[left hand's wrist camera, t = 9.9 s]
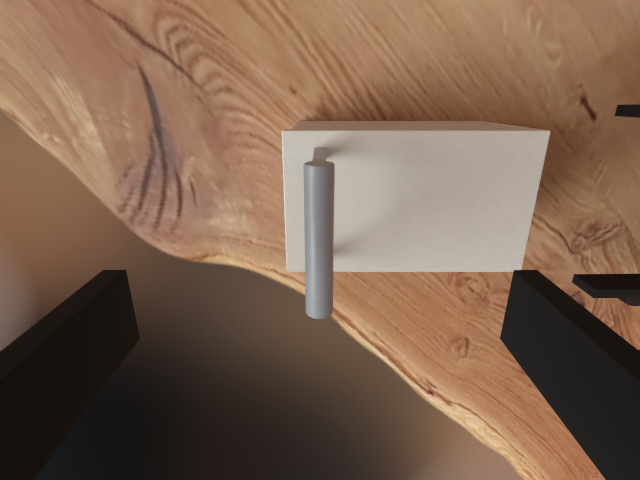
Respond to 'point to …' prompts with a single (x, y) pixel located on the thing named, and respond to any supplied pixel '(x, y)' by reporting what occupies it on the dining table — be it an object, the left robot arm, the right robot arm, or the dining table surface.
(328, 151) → the lid
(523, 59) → the dining table surface
